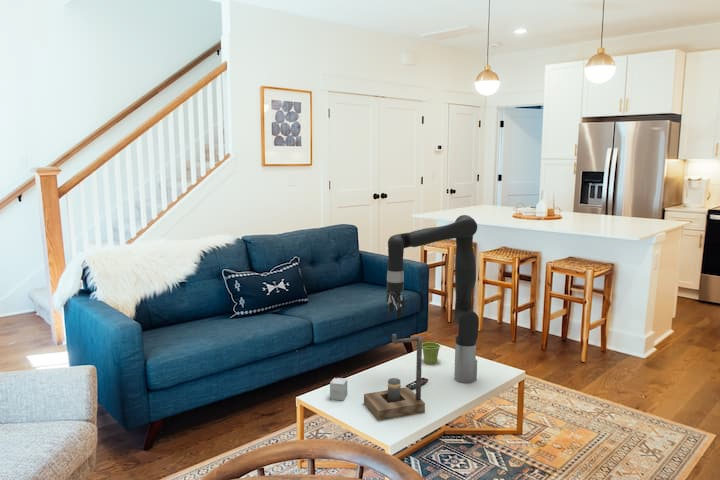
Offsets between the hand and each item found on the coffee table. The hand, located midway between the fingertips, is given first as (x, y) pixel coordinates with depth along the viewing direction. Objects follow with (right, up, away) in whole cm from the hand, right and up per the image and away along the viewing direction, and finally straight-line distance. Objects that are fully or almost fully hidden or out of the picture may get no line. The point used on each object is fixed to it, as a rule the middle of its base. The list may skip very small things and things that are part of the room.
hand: (394, 315), depth 248 cm
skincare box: (-25, -33, -15) cm, 44 cm away
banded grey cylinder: (-2, -34, -23) cm, 41 cm away
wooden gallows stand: (-2, -34, -24) cm, 42 cm away
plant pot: (+19, -27, +25) cm, 41 cm away
